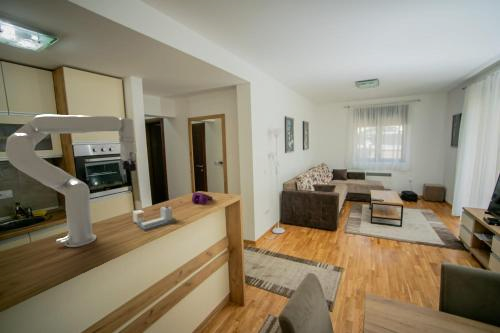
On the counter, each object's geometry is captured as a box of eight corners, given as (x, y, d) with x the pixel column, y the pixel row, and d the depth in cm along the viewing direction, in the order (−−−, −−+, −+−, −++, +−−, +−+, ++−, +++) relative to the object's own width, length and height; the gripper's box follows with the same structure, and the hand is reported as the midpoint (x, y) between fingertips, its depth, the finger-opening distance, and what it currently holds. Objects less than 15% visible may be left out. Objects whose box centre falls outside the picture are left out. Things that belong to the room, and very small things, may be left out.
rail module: (137, 225, 133) (136, 213, 132) (133, 222, 137) (132, 211, 136) (145, 223, 136) (144, 211, 135) (140, 220, 140) (140, 209, 139)
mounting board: (144, 231, 124) (143, 214, 123) (137, 226, 131) (136, 210, 130) (176, 221, 139) (175, 206, 138) (168, 217, 146) (168, 203, 145)
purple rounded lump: (203, 206, 190) (190, 202, 175) (205, 196, 193) (193, 192, 177) (212, 207, 186) (200, 203, 171) (214, 198, 189) (202, 193, 173)
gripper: (114, 140, 127) (117, 169, 129) (125, 140, 115) (128, 172, 118) (128, 140, 132) (130, 167, 135) (139, 140, 121) (142, 170, 123)
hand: (129, 170), depth 126 cm, fingers open, 9 cm apart
